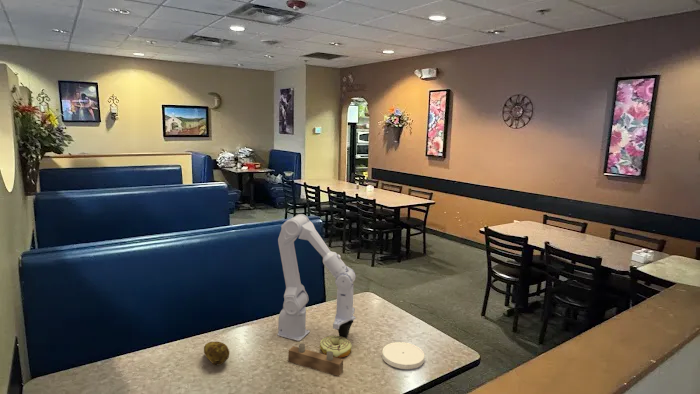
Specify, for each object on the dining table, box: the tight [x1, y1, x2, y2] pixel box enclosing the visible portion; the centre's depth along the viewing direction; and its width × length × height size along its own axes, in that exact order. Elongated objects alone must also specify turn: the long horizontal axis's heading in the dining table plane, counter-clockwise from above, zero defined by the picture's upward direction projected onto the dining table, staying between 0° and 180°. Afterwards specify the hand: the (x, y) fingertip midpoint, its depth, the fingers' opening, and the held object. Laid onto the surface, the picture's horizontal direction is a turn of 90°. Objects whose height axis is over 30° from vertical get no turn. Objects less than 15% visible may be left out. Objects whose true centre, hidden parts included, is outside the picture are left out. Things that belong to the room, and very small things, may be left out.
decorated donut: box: [319, 335, 353, 359], centre depth 142 cm, size 10×11×4 cm
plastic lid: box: [381, 341, 425, 370], centre depth 139 cm, size 14×14×2 cm
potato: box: [203, 341, 230, 366], centre depth 133 cm, size 8×13×8 cm, turn 12°
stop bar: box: [287, 343, 344, 377], centre depth 133 cm, size 18×3×6 cm, turn 67°
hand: (343, 339), depth 148 cm, fingers closed
